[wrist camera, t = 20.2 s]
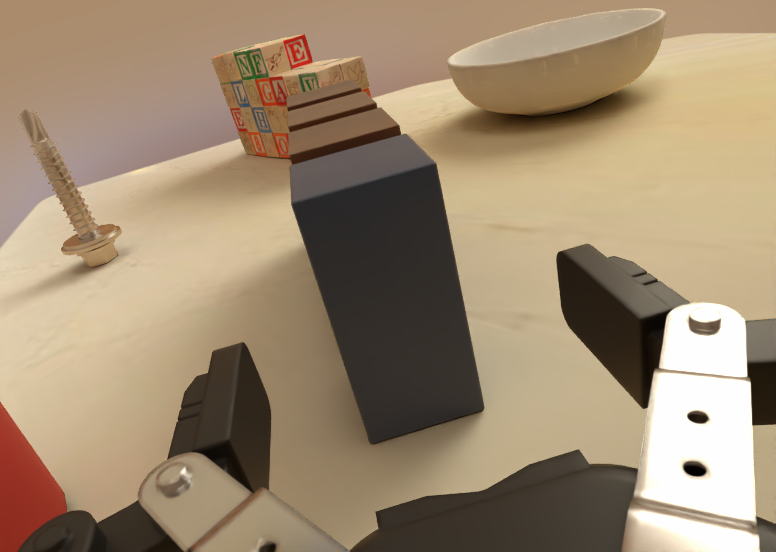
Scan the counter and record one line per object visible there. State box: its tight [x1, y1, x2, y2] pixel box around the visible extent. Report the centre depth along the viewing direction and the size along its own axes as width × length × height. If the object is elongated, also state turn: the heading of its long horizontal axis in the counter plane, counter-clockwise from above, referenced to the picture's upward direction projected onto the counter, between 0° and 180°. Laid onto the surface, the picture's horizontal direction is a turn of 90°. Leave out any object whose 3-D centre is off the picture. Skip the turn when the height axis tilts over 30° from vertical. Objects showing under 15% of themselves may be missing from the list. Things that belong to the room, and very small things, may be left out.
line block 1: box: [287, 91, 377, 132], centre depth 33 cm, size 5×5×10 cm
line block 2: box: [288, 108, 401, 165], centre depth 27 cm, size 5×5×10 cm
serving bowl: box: [447, 8, 666, 116], centre depth 58 cm, size 21×21×7 cm
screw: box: [18, 110, 122, 268], centre depth 46 cm, size 13×5×5 cm
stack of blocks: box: [211, 34, 371, 158], centre depth 64 cm, size 21×6×12 cm, turn 41°
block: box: [290, 134, 484, 444], centre depth 21 cm, size 5×5×10 cm
